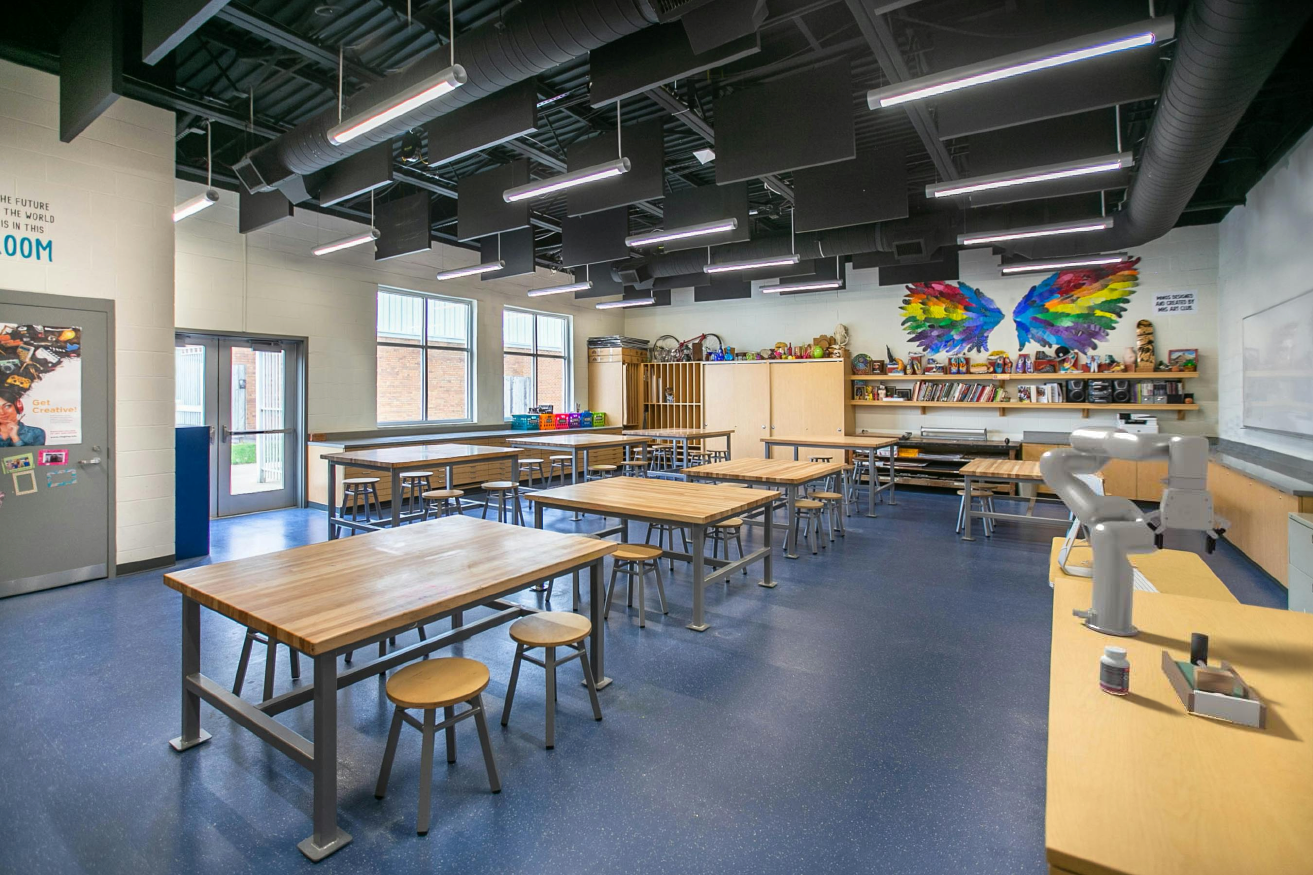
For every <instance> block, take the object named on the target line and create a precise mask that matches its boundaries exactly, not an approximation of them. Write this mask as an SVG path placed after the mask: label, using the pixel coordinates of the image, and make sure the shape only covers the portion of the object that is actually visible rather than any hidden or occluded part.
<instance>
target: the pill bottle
mask: <svg viewBox="0 0 1313 875" xmlns="http://www.w3.org/2000/svg"><path fill="white" fill-rule="evenodd" d="M1127 654H1128V652H1127V650H1126V649H1125V648H1123V647H1119V646H1115V645H1114V646H1112V645H1106V646H1104V654H1103V655H1101V657H1100V659H1099V660H1100V661H1099V663H1100V664H1099V682H1098V684H1099V689H1100V690H1102V689H1103V690H1105V691H1109V692H1112V693H1117V694H1126V693H1128V694H1129V689H1130V686H1129V685H1130V669H1131V668H1130V667H1131V666H1130V662H1129V661H1128V660H1127V659H1126V658H1127ZM1103 690H1102V691H1103ZM1105 691H1104V692H1105Z"/></svg>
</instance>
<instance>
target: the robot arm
mask: <svg viewBox="0 0 1313 875" xmlns="http://www.w3.org/2000/svg"><path fill="white" fill-rule="evenodd" d="M1068 438H1069V439H1068V441H1069V444H1070V446H1071V447H1069V448H1068V447H1067V448H1064V447H1063V448H1061V447H1059V448H1053V449H1049V450H1047V451H1046V452H1044V453H1042V455H1041V456H1040V457H1039V458H1040V459H1039V463H1038V464H1039V466H1038V468H1039V472H1040V475H1041V478H1042V479H1043V481H1044V483H1045V484H1046V485H1047V486H1048V487H1049V489H1050V490H1051V491H1052V492H1054V493H1055V494H1056V495H1057V496H1058V497H1059V498H1060V499H1061V500H1062V501H1063V503H1064V504H1065V505H1066V507H1067V508H1068V509H1069V510H1070V512H1072V514H1073V515H1074V516H1075V517H1076V519H1077V520H1078V521H1079V522H1080V523H1081V524H1082V525H1084V526H1086V527H1090V528H1091V530H1090V533H1089V540H1090V546H1091V550H1092V590H1091V592H1092V594H1091V595H1092V596H1091V607H1089V609H1085V610H1080V609H1074V608H1072V616H1073V617H1077V618H1078V619H1084V625H1085V626H1086V627H1087V628H1089V629H1091V630H1093V631H1096V632H1099V633H1101V634H1102V633H1103V634H1107V635H1113V636H1121V637H1134V636H1137V635H1139V629H1138V627H1137V626H1135V625H1133V607H1134V606H1133V603H1134V580H1135V579H1134V577H1135V573H1134V567H1133V565H1132V563H1131V562H1130V560H1129V558H1128V555H1148V554H1149V555H1150V554H1155V553H1156V552H1158V551H1159V550H1163V549H1164V534H1163V533H1162V532H1164V531H1165V530H1166V529H1167V528H1168V529H1175V530H1187V531H1200V532H1201V531H1202V532H1205V533H1206V534H1207V536H1206V537H1205V551H1204V552H1205V553H1207V554H1209V555H1213V551H1216V545H1217V544H1216V542H1217V539H1218V538H1219V537H1221V536H1222V535H1224V534H1225V533H1226V532H1227V530H1229V528H1230V527H1231V526H1232V522H1231V521H1230V520H1228V519H1225V518H1223V517H1221V516H1219V515H1217V514H1215V513H1214V512H1215V511H1214V501H1213V500H1214V499H1213V494H1212V491H1211V490H1208V489H1207V488H1208V464H1209V446H1210V445H1209V444H1210V442H1209V439H1208V438H1207V437H1205V436H1202V435H1183V434H1176V433H1161V432H1159V433H1157V432H1156V433H1154V432H1153V433H1152V432H1150V433H1148V432H1147V433H1137V432H1135V433H1134V432H1133V433H1131V432H1129V431H1127V430H1126V429H1124V428H1120V427H1117V426H1113V425H1084V426H1083V425H1082V426H1079V427H1077V428H1076V429H1074V430H1073V431H1072V432H1071V433H1070V435H1069V437H1068ZM1113 459H1115V460H1119V461H1120V460H1122V461H1130V462H1135V463H1136V462H1137V463H1148V462H1155V463H1156V462H1157V463H1158V462H1159V463H1161V462H1162V463H1163V462H1164V463H1168V465H1167V475H1166V477H1164V478H1163V477H1162V478H1160V481H1159V482H1160V484H1162V485H1165V486H1166V487H1164V488H1163V491H1162V493H1161V494H1162V495H1161V498H1160V504H1159V509H1156V510H1154V511H1149V512H1148V513H1144V512H1143V511H1142V510H1141V509H1140V508H1139V507H1138V506H1137V505H1136V504H1135V503H1134V502H1133V501H1132V500H1130V499H1128V498H1126V497H1124V496H1120V495H1119V496H1118V495H1102V494H1098V493H1096V491H1094V490H1093V489H1092V488H1091V487H1090V485H1089V484H1088V483H1086V481H1084V480H1082V479H1080V478H1079V477H1076V476H1074V475H1094V474H1096V473H1099V472H1101V471H1102V470H1103V469H1104V468H1105V467H1106V466H1107V465H1108V464H1109V463H1110V462H1111V461H1113ZM1156 517H1158V524H1156V525H1155V523H1153V521H1152V520H1151V519H1153V518H1156ZM1215 521H1216V522H1217V523H1220V526H1219V527H1217V528H1216V529H1214V527H1215V526H1214V525H1215ZM1213 529H1214V530H1213Z"/></svg>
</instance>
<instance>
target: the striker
mask: <svg viewBox="0 0 1313 875" xmlns="http://www.w3.org/2000/svg"><path fill="white" fill-rule="evenodd" d="M1208 654H1209V635H1206V634H1203V633H1199V632H1192V633H1191V637H1190V657H1189V658H1190V659H1189V661H1190V662H1189V663H1191V664H1193V665H1196V666H1194V679H1193V683H1194V685H1195V686H1196V688H1197V689H1202V690H1208V691H1213V692H1219V693H1224V694H1230V695H1234V676H1233V675H1232V674H1231V672H1229V671H1223V670H1217V669H1211V668H1208V667H1207V666H1208V657H1209V655H1208ZM1199 666H1200V667H1199Z"/></svg>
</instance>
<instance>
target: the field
mask: <svg viewBox="0 0 1313 875" xmlns="http://www.w3.org/2000/svg"><path fill="white" fill-rule="evenodd" d="M1194 666H1196V665H1193V664H1191V663H1190V662H1186V661H1182V660H1181V661H1180V660H1174V659H1173V658H1172V656H1171V655H1170V654H1169V652H1168V651H1167V650H1161V666H1160V667H1161V670H1162V672H1163V671H1164V672H1163V674H1164V673H1165V674H1166V675H1165V674H1164V675H1165V677H1166V676H1167V677H1166V679H1167V678H1168V679H1169V681H1170V682H1169V681H1168V682H1169V684H1170V683H1171V684H1170V685H1172V686H1173V688H1174V689H1173V688H1172V689H1173V691H1174V690H1175V691H1176V693H1177V694H1178V696H1179V698H1180V699H1181V701H1182V703H1183V704H1184V706H1185V707H1186V709H1187V711H1189V712H1196V713H1199V714H1204V715H1208V716H1212V717H1216V718H1221V719H1225V720H1229V721H1232V722H1236V723H1235V724H1237V723H1240V724H1239V725H1242V724H1246V725H1245V726H1247V725H1250V726H1249V727H1252V726H1254V727H1253V728H1257V727H1259V728H1258V729H1262V728H1263V729H1262V730H1266V727H1267V708H1268V707H1267V706H1266V704H1265V703H1264V702H1263V701H1262V700H1261V699H1260V698H1259V696H1257V694H1256V693H1255V692H1254V691H1253V690H1252V689H1251V687H1250V686H1249V685H1248V684H1247V682H1246V681H1245V680H1244V679H1243V677H1241V676H1240V673H1238V672H1237V671H1236V670H1235V669H1234V667H1233V666H1232V665H1231V664H1230V662H1228V661H1227V660H1223V659H1221V661H1220V667H1215V666H1210V665H1207V667H1208V668H1211V669H1217V670H1223V671H1229V672H1231V674H1232V675H1233V676H1234V695H1230V694H1224V693H1221V694H1223V695H1219V694H1213V693H1219V692H1213V691H1208V690H1202V689H1197V688H1196V686H1195V685H1194V683H1193V679H1194ZM1199 667H1200V666H1199ZM1168 679H1167V680H1168ZM1172 686H1171V687H1172ZM1175 691H1174V692H1175ZM1176 693H1175V694H1176ZM1177 694H1176V695H1177ZM1224 695H1225V696H1224ZM1178 696H1177V697H1178ZM1179 698H1178V699H1179ZM1181 701H1180V702H1181ZM1182 703H1181V704H1182Z"/></svg>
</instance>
